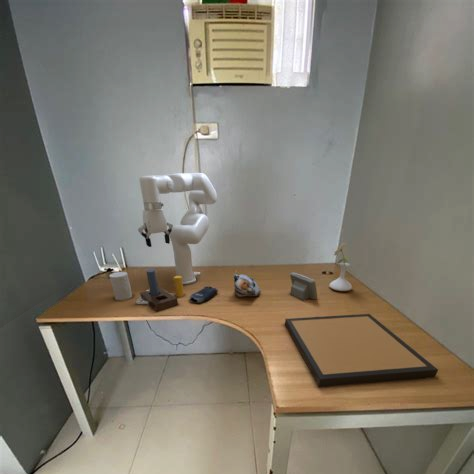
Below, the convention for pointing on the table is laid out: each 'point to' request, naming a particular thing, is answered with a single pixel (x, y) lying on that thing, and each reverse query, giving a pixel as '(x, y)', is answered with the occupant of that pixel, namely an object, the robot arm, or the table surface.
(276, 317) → the table surface
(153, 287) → the blue peg
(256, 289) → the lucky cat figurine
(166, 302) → the stand
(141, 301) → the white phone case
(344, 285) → the flower in vase
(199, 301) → the electronic device
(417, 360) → the cork board
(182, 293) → the mustard peg
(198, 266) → the table surface
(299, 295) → the digital clock
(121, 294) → the cup
